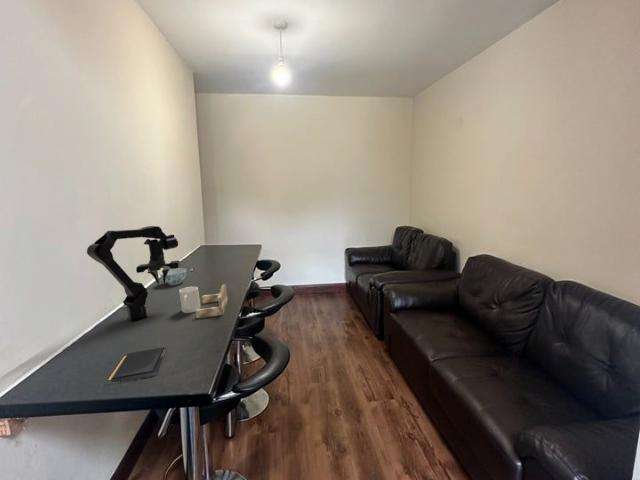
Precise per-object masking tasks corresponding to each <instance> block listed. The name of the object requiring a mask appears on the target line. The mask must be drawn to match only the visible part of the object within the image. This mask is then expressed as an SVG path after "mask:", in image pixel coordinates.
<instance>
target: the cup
mask: <svg viewBox="0 0 640 480" xmlns="http://www.w3.org/2000/svg"><path fill="white" fill-rule="evenodd" d="M178 293H179V300H180V306H181V312H183V313H184V314H190V313H194V312H195V311H196V310H197V309H201V300H200V293H199V288H198V286H195V285H194V286H186V287H183V288H180V289H179V290H178ZM195 313H196V312H195Z"/></svg>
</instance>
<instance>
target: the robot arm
mask: <svg viewBox="0 0 640 480" xmlns="http://www.w3.org/2000/svg"><path fill="white" fill-rule="evenodd" d="M135 238H137V239H138V238H145V239H146V240H145V241H144V242H143V245H146V246H147V245H148V248H149V249H148V251H149V261H148V263H144V264H141V263H140V264H139V265H138V266H137V267H136V268H135V270H136V273H137V274H138V273H144V272H145V271H146V270H147V272H146V273H147V274H150V275H152V277H153V279H154V280H155V282H156V284H157V285H160V277H159V276H160V275H159V273H158V271H160V270H161V269H162V270H161V272H163V280H162V281H163V284H166V278H167V274H168V271H169V270H170V269H177V268H181V266H182V264H181V261H180V260H172V261H170V262H168V263H166V260H165V252H164V251H168V250H172V249H177V248H178V247H179V241H178V240H177V238H176V237H175V235H174V234H169V235H166V233H165V232H163V229H162V227H160V226H159V225H148V226H144V227H141V228H137V229H120V230H107V231H106V232H105V233H104V234H103V235H102V236H101V237H100V238H98V239H97V240H95V241H94V242H93V243H92V244H90V245H88V246H87V249H86V254H87V255H88V256H89V257H90V258H91V259H93V260H94V261H96V262H97V263H99V264H101V265H102V266H103V267H104V268H105V269H106V270H107V271H108V272H109V273H110V274H111V275H112V277H113V278H114V279H115V280H116V281H117V282H118V283H119V284H120V285H121V286H122V288H124V294H126V297H124V298H125V299H124V300H123V301H122V303H123V305H124V307H126V311H127V316H128V317H127V318H126V319H127V320H128V321H130V322H131V323H132V322H136V321H140V320H143V319H146V318H148V315H147V313H148V312H147V308H146V306H145V305H146V303H147V298H148V295H149V292H148V291H147V290H148V288H146V287H145V285H144V284H143V283H142V282H136V281H134V280H133V279H132V277H130V276H129V275H128V274H127V272H126V271H125V270H124V269H123V268H122V266H120V265H119V263H118V262H117V261H116V260H115V258H114V255H113V253H112V251H111V250H112V248H114V246H115V245H116V242H117V241H118V240H122V239H125V240H126V239H135Z"/></svg>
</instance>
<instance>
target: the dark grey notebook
mask: <svg viewBox="0 0 640 480" xmlns="http://www.w3.org/2000/svg"><path fill="white" fill-rule="evenodd" d="M166 348H167V347H165V346H163V347H157V348H153V349H152V348H151V349H144V350H140V351H135V352H133V351H132V352H129V353H126V354H124V355H126V356H124V355H123V356H124V357H123V356H122V357H123V358H122V357H121V359H122V360H121V359H120V360H121V361H120V360H119V362H120V363H119V362H118V363H119V364H118V363H117V365H118V366H117V365H116V366H117V367H116V366H115V368H116V369H115V368H114V369H115V370H114V369H113V371H114V372H113V371H112V372H113V373H112V372H111V374H110V375H111V376H110V375H109V376H110V377H109V376H108V378H109V379H108V378H107V379H108V380H111V382H119V381H120V382H122V381H123V382H124V381H130V380H135V381H138V380H137V379H141V380H145V379H151V378H154V377H156V376H157V375H158V373H159V370H160V368H161V366H162V363H163V361H162V360H164V358H163V357H161V354H162V352H163V350H164V349H166ZM160 357H161V358H160ZM161 362H162V363H161ZM160 365H161V366H160ZM130 382H131V381H130ZM124 383H125V382H124Z"/></svg>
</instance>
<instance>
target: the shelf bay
mask: <svg viewBox="0 0 640 480" xmlns="http://www.w3.org/2000/svg"><path fill="white" fill-rule="evenodd" d="M227 293H228V291H227V285H226V283H225V284H224V283H223V284H221V287H220V291H219V293H214V294H205V295H202V303H203V304H209V302H210V303H215V302H217V301H218V302H217V303H218V306H213V307H204V308H200V309H197V310H196V311H195V317H196V319H201V318H202V319H203V318H209V317H216V316H224V315H225V309H226V307H227V306H226V305H227V302H228V294H227Z"/></svg>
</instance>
